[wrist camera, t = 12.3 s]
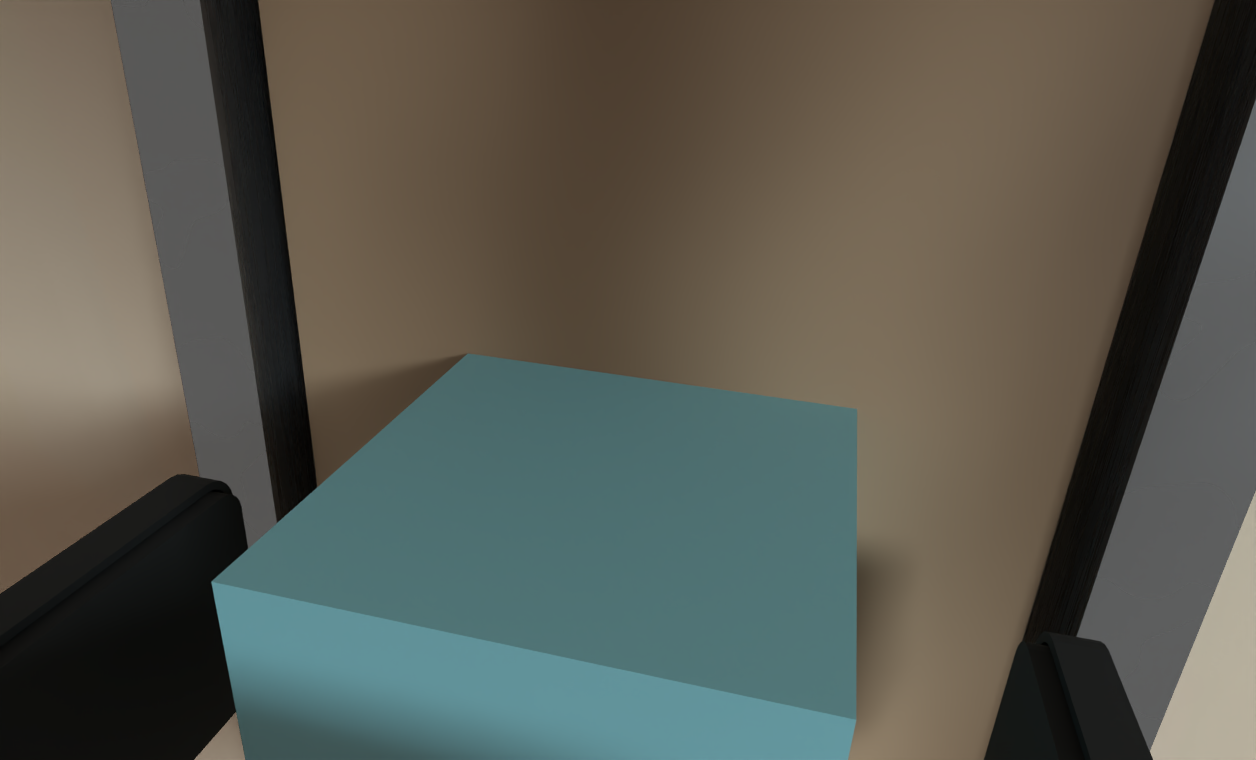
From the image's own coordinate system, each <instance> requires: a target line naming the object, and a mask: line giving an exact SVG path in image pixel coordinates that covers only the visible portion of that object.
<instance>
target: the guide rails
mask: <svg viewBox="0 0 1256 760" xmlns="http://www.w3.org/2000/svg"><path fill="white" fill-rule="evenodd" d="M111 4H112V9H113V15H114V20H115V25H116V31H117V36H118V41H119V47H120V52H121V57H122V63H123V68H124V74H125V79H126V84H127V90H128V95H129V100H130V106H131V111H132V116H133V122H134V127H135V132H136V138H137V143H138V148H139V154H140V159H141V165H142V170H143V175H144V181H145V186H146V191H147V197H148V202H149V207H150V213H151V218H152V223H153V229H154V234H155V239H156V245H157V250H158V256H159V261H160V266H161V272H162V277H163V282H164V288H165V293H166V298H167V304H168V309H169V314H170V320H171V325H172V330H173V336H174V341H175V347H176V352H177V357H178V363H179V368H180V373H181V379H182V384H183V389H184V395H185V400H186V405H187V411H188V416H189V421H190V427H191V432H192V438H193V443H194V448H195V454H196V459H197V464H198V470H199V475H200V477H202V478H208V479H213V480H219V481H222V482H224V483H226V484H227V485H228V486H229V487H230V489H231V491H232V494H233V495H234V496H236V497H237V498H238V499H239V500H240V503H241V507H242V513H243V519H244V525H245V531H246V538H247V544H248V549H249V548H250V547H251V546H252V545H253V544H254V543H255V542H257V541H258V540H259V539H260V538H261V537H262V536H263V535H264V534H266V533H267V532H268V531H269V530H270V529H271V528H272V527H273V526H274V525H276V524H277V523H278V522H279V521H280V520H281V519H282V518H283V517H285V516H286V515H287V514H288V513H289V512H290V511H291V510H292V509H294V508H295V507H296V506H297V505H298V504H299V503H300V502H301V501H303V500H304V499H305V498H306V497H307V496H308V495H309V494H310V493H312V492H313V491H314V490H315V489H316V488H317V479H316V471H315V463H314V454H313V446H312V438H311V430H310V422H309V413H308V405H307V397H306V389H305V380H304V372H303V364H302V356H301V348H300V339H299V331H298V323H297V315H296V307H295V298H294V290H293V282H292V274H291V265H290V257H289V249H288V241H287V233H286V224H285V216H284V208H283V200H282V192H281V183H280V175H279V167H278V159H277V150H276V142H275V134H274V126H273V118H272V109H271V101H270V93H269V85H268V76H267V68H266V60H265V52H264V44H263V35H262V27H261V19H260V11H259V3H258V0H111ZM1255 491H1256V0H1214V4H1213V7H1212V10H1211V14H1210V17H1209V20H1208V23H1207V27H1206V30H1205V33H1204V37H1203V40H1202V43H1201V47H1200V50H1199V53H1198V57H1197V60H1196V63H1195V67H1194V70H1193V73H1192V77H1191V80H1190V83H1189V87H1188V90H1187V93H1186V97H1185V100H1184V103H1183V107H1182V110H1181V113H1180V117H1179V120H1178V123H1177V127H1176V130H1175V133H1174V137H1173V140H1172V143H1171V147H1170V150H1169V153H1168V157H1167V160H1166V163H1165V167H1164V170H1163V173H1162V177H1161V180H1160V183H1159V187H1158V190H1157V193H1156V197H1155V200H1154V203H1153V207H1152V210H1151V213H1150V216H1149V220H1148V223H1147V226H1146V230H1145V233H1144V236H1143V240H1142V243H1141V246H1140V250H1139V253H1138V256H1137V260H1136V263H1135V266H1134V270H1133V273H1132V276H1131V280H1130V283H1129V286H1128V290H1127V293H1126V296H1125V300H1124V303H1123V306H1122V310H1121V313H1120V316H1119V320H1118V323H1117V326H1116V330H1115V333H1114V336H1113V340H1112V343H1111V346H1110V350H1109V353H1108V356H1107V360H1106V363H1105V366H1104V370H1103V373H1102V376H1101V380H1100V383H1099V386H1098V390H1097V393H1096V396H1095V400H1094V403H1093V406H1092V410H1091V413H1090V416H1089V419H1088V423H1087V426H1086V429H1085V433H1084V436H1083V439H1082V443H1081V446H1080V449H1079V453H1078V456H1077V459H1076V463H1075V466H1074V469H1073V473H1072V476H1071V479H1070V483H1069V486H1068V489H1067V493H1066V496H1065V499H1064V503H1063V506H1062V509H1061V513H1060V516H1059V519H1058V523H1057V526H1056V529H1055V533H1054V536H1053V539H1052V543H1051V546H1050V549H1049V553H1048V556H1047V559H1046V563H1045V566H1044V569H1043V573H1042V576H1041V579H1040V583H1039V586H1038V589H1037V593H1036V596H1035V599H1034V603H1033V606H1032V609H1031V613H1030V616H1029V619H1028V622H1027V626H1026V629H1025V632H1024V636H1023V639H1022V642H1023V641H1025V642H1030V643H1035V644H1036V642H1037V639H1038V637H1039V636H1040V634H1041V633H1042V632H1045V631H1047V632H1053V633H1058V634H1064V635H1069V636H1075V637H1080V638H1086V639H1091V640H1097V641H1101V642H1102V643H1104V644H1105V645H1106V647H1107V648H1108V650H1109V652H1110V655H1111V657H1112V660H1113V662H1114V665H1115V667H1116V669H1117V672H1118V674H1119V677H1120V679H1121V682H1122V684H1123V687H1124V689H1125V692H1126V694H1127V697H1128V699H1129V702H1130V704H1131V707H1132V709H1133V711H1134V714H1135V716H1136V719H1137V721H1138V724H1139V726H1140V729H1141V731H1142V734H1143V736H1144V739H1145V741H1146V744H1147V746H1148V749H1149V751H1150V749H1151V747H1152V744H1153V742H1154V739H1155V737H1156V734H1157V732H1158V729H1159V727H1160V725H1161V722H1162V720H1163V717H1164V715H1165V712H1166V710H1167V707H1168V705H1169V702H1170V700H1171V698H1172V695H1173V693H1174V690H1175V688H1176V685H1177V683H1178V680H1179V678H1180V675H1181V673H1182V670H1183V668H1184V666H1185V663H1186V661H1187V658H1188V656H1189V653H1190V651H1191V648H1192V646H1193V643H1194V641H1195V639H1196V636H1197V634H1198V631H1199V629H1200V626H1201V624H1202V621H1203V619H1204V616H1205V614H1206V611H1207V609H1208V607H1209V604H1210V602H1211V599H1212V597H1213V594H1214V592H1215V589H1216V587H1217V584H1218V582H1219V580H1220V577H1221V575H1222V572H1223V570H1224V567H1225V565H1226V562H1227V560H1228V557H1229V555H1230V552H1231V550H1232V548H1233V545H1234V543H1235V540H1236V538H1237V535H1238V533H1239V530H1240V528H1241V525H1242V523H1243V521H1244V518H1245V516H1246V513H1247V511H1248V508H1249V506H1250V503H1251V501H1252V498H1253V496H1254V493H1255Z"/></svg>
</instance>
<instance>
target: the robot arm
mask: <svg viewBox="0 0 1256 760" xmlns="http://www.w3.org/2000/svg"><path fill="white" fill-rule="evenodd" d="M246 550H248V544H247V538H246V531H245V525H244V519H243V513H242V507H241V503H240V500H239V499H238V498H237V497H236V496H234V495H233V494H232V491H231V489H230V487H229V486H228V485H227V484H226V483H224V482H222V481H219V480H213V479H208V478H202V477H197V476H191V475H186V474H181V475H176V476H174V477H171V478H169V479H168V480H166V481H165V482H164V483H162V484H161V485H159V486H158V487H156V488H155V489H153V490H152V491H150V492H149V493H147V494H146V495H144V496H143V497H142V498H140V499H139V500H137V501H136V502H134V503H133V504H131V505H130V506H128V507H127V508H125V509H124V510H122V511H121V512H120V513H118V514H117V515H115V516H114V517H112V518H111V519H109V520H108V521H106V522H105V523H103V524H102V525H101V526H99V527H98V528H96V529H95V530H93V531H92V532H90V533H89V534H87V535H86V536H84V537H83V538H81V539H80V540H79V541H77V542H76V543H74V544H73V545H71V546H70V547H68V548H67V549H65V550H64V551H62V552H61V553H59V554H58V555H57V556H55V557H54V558H52V559H51V560H49V561H48V562H46V563H45V564H43V565H42V566H40V567H39V568H37V569H36V570H35V571H33V572H32V573H30V574H29V575H27V576H26V577H24V578H23V579H21V580H20V581H18V582H17V583H16V584H14V585H13V586H11V587H10V588H8V589H7V590H5V591H4V592H2V593H1V594H0V760H194V759H195V758H196V757H197V755H198V754H199V753H200V752H201V751H202V750H203V749H204V748H205V746H206V745H207V744H208V743H209V742H210V741H211V740H212V738H213V737H214V736H215V735H216V734H217V733H218V732H219V731H220V729H221V728H222V727H223V726H224V725H225V724H226V723H227V721H228V720H229V719H230V718H231V717H232V716H233V715H234V713H235V712H236V708H235V703H234V697H233V692H232V687H231V682H230V677H229V671H228V666H227V661H226V656H225V650H224V645H223V640H222V635H221V630H220V624H219V619H218V614H217V609H216V604H215V598H214V593H213V588H212V583H211V582H212V581H213V580H214V579H215V578H216V577H217V576H218V575H219V574H221V573H222V572H223V571H224V570H225V569H226V568H227V567H228V566H230V565H231V564H232V563H233V562H234V561H235V560H236V559H237V558H239V557H240V556H241V555H242V554H243V553H244V552H245V551H246ZM984 760H1153V758H1152V756H1151V753H1150V751H1149V749H1148V746H1147V744H1146V741H1145V739H1144V736H1143V734H1142V731H1141V729H1140V726H1139V724H1138V721H1137V719H1136V716H1135V714H1134V711H1133V709H1132V707H1131V704H1130V702H1129V699H1128V697H1127V694H1126V692H1125V689H1124V687H1123V684H1122V682H1121V679H1120V677H1119V674H1118V672H1117V669H1116V667H1115V665H1114V662H1113V660H1112V657H1111V655H1110V652H1109V650H1108V648H1107V647H1106V645H1105V644H1104V643H1102V642H1101V641H1097V640H1091V639H1086V638H1080V637H1075V636H1069V635H1064V634H1058V633H1053V632H1047V631H1045V632H1042V633H1041V634H1040V636H1039V637H1038V639H1037V642H1036V644H1035V643H1030V642H1025V641H1023V642H1020V644H1019V645H1018V647H1017V650H1016V652H1015V656H1014V659H1013V662H1012V666H1011V669H1010V673H1009V676H1008V679H1007V683H1006V686H1005V690H1004V693H1003V696H1002V700H1001V703H1000V706H999V710H998V713H997V717H996V720H995V723H994V727H993V730H992V734H991V737H990V740H989V744H988V747H987V751H986V754H985V757H984Z"/></svg>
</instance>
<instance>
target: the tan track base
mask: <svg viewBox="0 0 1256 760" xmlns="http://www.w3.org/2000/svg"><path fill="white" fill-rule="evenodd" d="M258 3H259V11H260V19H261V27H262V35H263V44H264V52H265V60H266V68H267V76H268V85H269V93H270V101H271V109H272V118H273V126H274V134H275V142H276V150H277V159H278V167H279V175H280V183H281V192H282V200H283V208H284V216H285V224H286V233H287V241H288V249H289V257H290V265H291V274H292V282H293V290H294V298H295V307H296V315H297V323H298V331H299V339H300V348H301V356H302V364H303V372H304V380H305V389H306V397H307V405H308V413H309V422H310V430H311V438H312V446H313V454H314V463H315V471H316V479H317V487H318V486H319V485H321V484H322V483H323V482H324V481H325V480H326V479H327V478H328V477H330V476H331V475H332V474H333V473H334V472H335V471H336V470H337V469H339V468H340V467H341V466H342V465H343V464H344V463H345V462H346V461H348V460H349V459H350V458H351V457H352V456H353V455H354V454H355V453H357V452H358V451H359V450H360V449H361V448H362V447H363V446H364V445H366V444H367V443H368V442H369V441H370V440H371V439H372V438H373V437H375V436H376V435H377V434H378V433H379V432H380V431H381V430H382V429H383V428H385V427H386V426H387V425H388V424H389V423H390V422H391V421H392V420H394V419H395V418H396V417H397V416H398V415H399V414H400V413H401V412H403V411H404V410H405V409H406V408H407V407H408V406H409V405H410V404H412V403H413V402H414V401H415V400H416V399H417V398H418V397H419V396H421V395H422V394H423V393H424V392H425V391H426V390H427V389H428V388H430V387H431V386H432V385H433V384H434V383H435V382H436V381H437V380H439V379H440V378H441V377H442V376H443V375H444V374H445V373H446V372H448V371H449V370H450V369H451V368H452V367H453V366H454V365H455V364H457V363H458V362H459V361H460V360H461V359H462V358H463V357H464V356H466V355H467V354H475V355H482V356H489V357H496V358H503V359H510V360H518V361H525V362H532V363H539V364H546V365H553V366H560V367H567V368H574V369H581V370H588V371H595V372H602V373H609V374H616V375H623V376H630V377H637V378H644V379H651V380H658V381H665V382H672V383H679V384H686V385H693V386H700V387H707V388H714V389H721V390H728V391H735V392H742V393H749V394H756V395H763V396H770V397H777V398H784V399H791V400H798V401H805V402H812V403H819V404H826V405H833V406H840V407H847V408H854V409H857V654H856V724H855V729H854V733H853V738H852V743H851V748H850V753H849V757H848V760H984V757H985V754H986V751H987V747H988V744H989V740H990V737H991V734H992V730H993V727H994V723H995V720H996V717H997V713H998V710H999V706H1000V703H1001V700H1002V696H1003V693H1004V690H1005V686H1006V683H1007V679H1008V676H1009V673H1010V669H1011V666H1012V662H1013V659H1014V656H1015V652H1016V650H1017V647H1018V645H1019V644H1020V642H1022V639H1023V636H1024V632H1025V629H1026V626H1027V622H1028V619H1029V616H1030V613H1031V609H1032V606H1033V603H1034V599H1035V596H1036V593H1037V589H1038V586H1039V583H1040V579H1041V576H1042V573H1043V569H1044V566H1045V563H1046V559H1047V556H1048V553H1049V549H1050V546H1051V543H1052V539H1053V536H1054V533H1055V529H1056V526H1057V523H1058V519H1059V516H1060V513H1061V509H1062V506H1063V503H1064V499H1065V496H1066V493H1067V489H1068V486H1069V483H1070V479H1071V476H1072V473H1073V469H1074V466H1075V463H1076V459H1077V456H1078V453H1079V449H1080V446H1081V443H1082V439H1083V436H1084V433H1085V429H1086V426H1087V423H1088V419H1089V416H1090V413H1091V410H1092V406H1093V403H1094V400H1095V396H1096V393H1097V390H1098V386H1099V383H1100V380H1101V376H1102V373H1103V370H1104V366H1105V363H1106V360H1107V356H1108V353H1109V350H1110V346H1111V343H1112V340H1113V336H1114V333H1115V330H1116V326H1117V323H1118V320H1119V316H1120V313H1121V310H1122V306H1123V303H1124V300H1125V296H1126V293H1127V290H1128V286H1129V283H1130V280H1131V276H1132V273H1133V270H1134V266H1135V263H1136V260H1137V256H1138V253H1139V250H1140V246H1141V243H1142V240H1143V236H1144V233H1145V230H1146V226H1147V223H1148V220H1149V216H1150V213H1151V210H1152V207H1153V203H1154V200H1155V197H1156V193H1157V190H1158V187H1159V183H1160V180H1161V177H1162V173H1163V170H1164V167H1165V163H1166V160H1167V157H1168V153H1169V150H1170V147H1171V143H1172V140H1173V137H1174V133H1175V130H1176V127H1177V123H1178V120H1179V117H1180V113H1181V110H1182V107H1183V103H1184V100H1185V97H1186V93H1187V90H1188V87H1189V83H1190V80H1191V77H1192V73H1193V70H1194V67H1195V63H1196V60H1197V57H1198V53H1199V50H1200V47H1201V43H1202V40H1203V37H1204V33H1205V30H1206V27H1207V23H1208V20H1209V17H1210V14H1211V10H1212V7H1213V4H1214V0H258Z"/></svg>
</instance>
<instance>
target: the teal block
mask: <svg viewBox="0 0 1256 760" xmlns="http://www.w3.org/2000/svg"><path fill="white" fill-rule="evenodd" d="M211 583H212V588H213V593H214V598H215V604H216V609H217V614H218V619H219V624H220V630H221V635H222V640H223V645H224V650H225V656H226V661H227V666H228V671H229V677H230V682H231V687H232V692H233V697H234V703H235V708H236V713H237V718H238V724H239V729H240V734H241V739H242V744H243V750H244V755H245V760H848V757H849V753H850V748H851V743H852V738H853V733H854V729H855V724H856V654H857V409H854V408H847V407H840V406H833V405H826V404H819V403H812V402H805V401H798V400H791V399H784V398H777V397H770V396H763V395H756V394H749V393H742V392H735V391H728V390H721V389H714V388H707V387H700V386H693V385H686V384H679V383H672V382H665V381H658V380H651V379H644V378H637V377H630V376H623V375H616V374H609V373H602V372H595V371H588V370H581V369H574V368H567V367H560V366H553V365H546V364H539V363H532V362H525V361H518V360H510V359H503V358H496V357H489V356H482V355H475V354H467V355H466V356H464V357H463V358H462V359H461V360H460V361H459V362H458V363H457V364H455V365H454V366H453V367H452V368H451V369H450V370H449V371H448V372H446V373H445V374H444V375H443V376H442V377H441V378H440V379H439V380H437V381H436V382H435V383H434V384H433V385H432V386H431V387H430V388H428V389H427V390H426V391H425V392H424V393H423V394H422V395H421V396H419V397H418V398H417V399H416V400H415V401H414V402H413V403H412V404H410V405H409V406H408V407H407V408H406V409H405V410H404V411H403V412H401V413H400V414H399V415H398V416H397V417H396V418H395V419H394V420H392V421H391V422H390V423H389V424H388V425H387V426H386V427H385V428H383V429H382V430H381V431H380V432H379V433H378V434H377V435H376V436H375V437H373V438H372V439H371V440H370V441H369V442H368V443H367V444H366V445H364V446H363V447H362V448H361V449H360V450H359V451H358V452H357V453H355V454H354V455H353V456H352V457H351V458H350V459H349V460H348V461H346V462H345V463H344V464H343V465H342V466H341V467H340V468H339V469H337V470H336V471H335V472H334V473H333V474H332V475H331V476H330V477H328V478H327V479H326V480H325V481H324V482H323V483H322V484H321V485H319V486H318V487H317V488H316V489H315V490H314V491H313V492H312V493H310V494H309V495H308V496H307V497H306V498H305V499H304V500H303V501H301V502H300V503H299V504H298V505H297V506H296V507H295V508H294V509H292V510H291V511H290V512H289V513H288V514H287V515H286V516H285V517H283V518H282V519H281V520H280V521H279V522H278V523H277V524H276V525H274V526H273V527H272V528H271V529H270V530H269V531H268V532H267V533H266V534H264V535H263V536H262V537H261V538H260V539H259V540H258V541H257V542H255V543H254V544H253V545H252V546H251V547H250V548H249V549H248V550H246V551H245V552H244V553H243V554H242V555H241V556H240V557H239V558H237V559H236V560H235V561H234V562H233V563H232V564H231V565H230V566H228V567H227V568H226V569H225V570H224V571H223V572H222V573H221V574H219V575H218V576H217V577H216V578H215V579H214V580H213V581H212V582H211Z"/></svg>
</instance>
